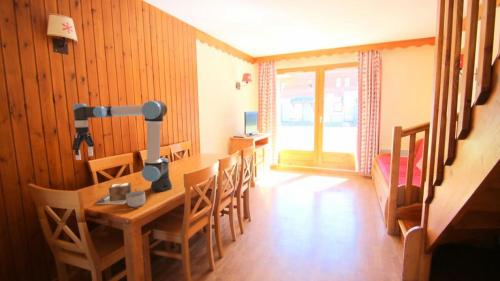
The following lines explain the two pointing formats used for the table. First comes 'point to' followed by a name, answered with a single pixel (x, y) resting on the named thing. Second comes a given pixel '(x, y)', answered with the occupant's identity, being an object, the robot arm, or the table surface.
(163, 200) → the table surface
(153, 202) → the table surface
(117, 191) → the wooden box
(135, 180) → the table surface
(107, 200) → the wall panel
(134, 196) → the teacup
